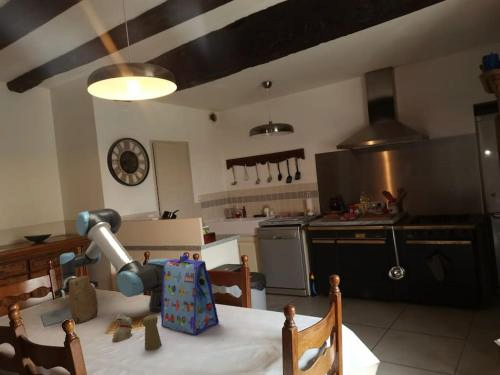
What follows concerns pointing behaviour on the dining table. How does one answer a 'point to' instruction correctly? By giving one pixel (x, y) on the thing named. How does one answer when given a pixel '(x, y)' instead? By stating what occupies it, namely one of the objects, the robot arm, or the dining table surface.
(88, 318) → the block
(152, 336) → the cork
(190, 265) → the lunch bag
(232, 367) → the dining table surface
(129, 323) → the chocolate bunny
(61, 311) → the mat
